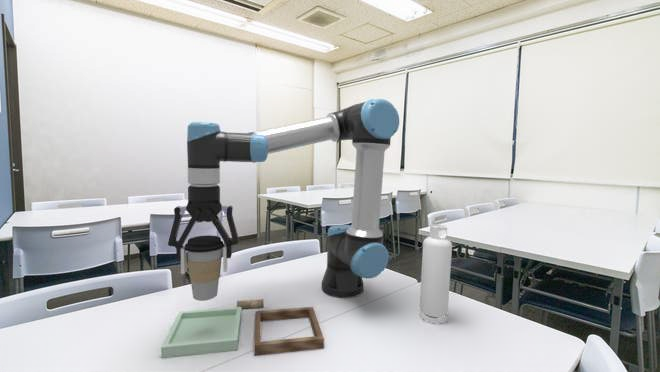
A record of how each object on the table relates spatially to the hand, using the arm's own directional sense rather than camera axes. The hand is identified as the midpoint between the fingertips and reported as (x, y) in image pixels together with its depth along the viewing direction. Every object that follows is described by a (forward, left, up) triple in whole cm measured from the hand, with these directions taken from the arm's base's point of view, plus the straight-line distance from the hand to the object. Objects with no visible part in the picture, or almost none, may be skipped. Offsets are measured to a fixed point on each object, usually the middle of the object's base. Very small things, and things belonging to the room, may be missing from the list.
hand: (204, 271), depth 82 cm
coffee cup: (0, 0, -7) cm, 7 cm away
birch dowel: (-11, -12, -17) cm, 24 cm away
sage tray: (0, 0, -17) cm, 17 cm away
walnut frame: (-21, +3, -17) cm, 27 cm away
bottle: (-65, +2, -17) cm, 67 cm away
